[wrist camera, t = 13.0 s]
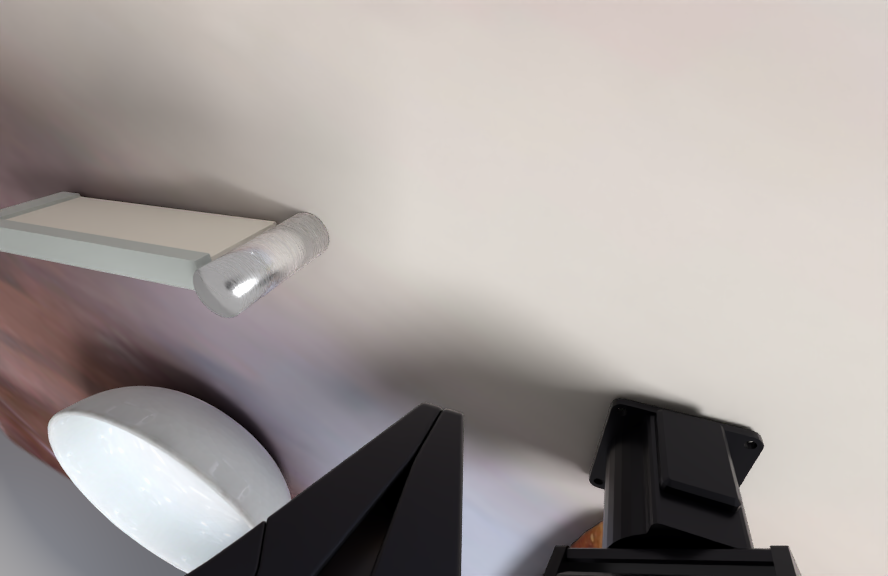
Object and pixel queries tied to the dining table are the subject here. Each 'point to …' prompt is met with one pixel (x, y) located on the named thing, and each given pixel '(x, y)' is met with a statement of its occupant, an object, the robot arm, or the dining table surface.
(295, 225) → the hinge post
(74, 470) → the serving bowl
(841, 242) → the dining table surface
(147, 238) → the bar
